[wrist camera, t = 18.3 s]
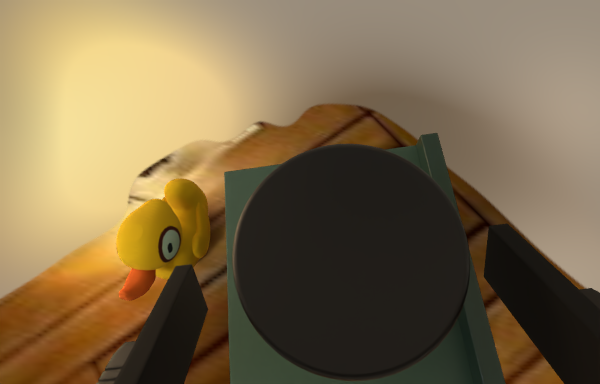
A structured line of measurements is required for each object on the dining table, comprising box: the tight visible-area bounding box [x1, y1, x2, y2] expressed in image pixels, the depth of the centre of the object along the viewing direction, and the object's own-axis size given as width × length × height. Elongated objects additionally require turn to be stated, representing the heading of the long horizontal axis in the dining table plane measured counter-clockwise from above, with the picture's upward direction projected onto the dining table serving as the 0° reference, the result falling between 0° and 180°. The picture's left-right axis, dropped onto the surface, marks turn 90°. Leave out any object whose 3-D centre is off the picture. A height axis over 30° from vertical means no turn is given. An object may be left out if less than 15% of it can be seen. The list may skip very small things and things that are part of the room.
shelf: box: [224, 133, 505, 384], centre depth 27 cm, size 16×18×12 cm
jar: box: [232, 144, 470, 381], centre depth 17 cm, size 9×8×12 cm
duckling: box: [116, 179, 210, 301], centre depth 31 cm, size 11×5×10 cm, turn 170°
